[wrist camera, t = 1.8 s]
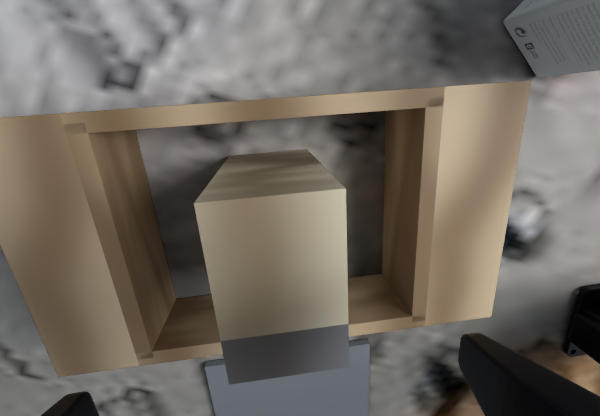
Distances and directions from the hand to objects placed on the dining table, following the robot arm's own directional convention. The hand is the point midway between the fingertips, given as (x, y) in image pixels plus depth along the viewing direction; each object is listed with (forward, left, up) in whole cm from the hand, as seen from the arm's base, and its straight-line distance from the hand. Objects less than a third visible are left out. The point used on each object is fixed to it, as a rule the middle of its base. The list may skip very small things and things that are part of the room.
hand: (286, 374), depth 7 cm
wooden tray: (0, 0, -12) cm, 12 cm away
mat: (0, +17, -12) cm, 21 cm away
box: (0, 0, -12) cm, 12 cm away
